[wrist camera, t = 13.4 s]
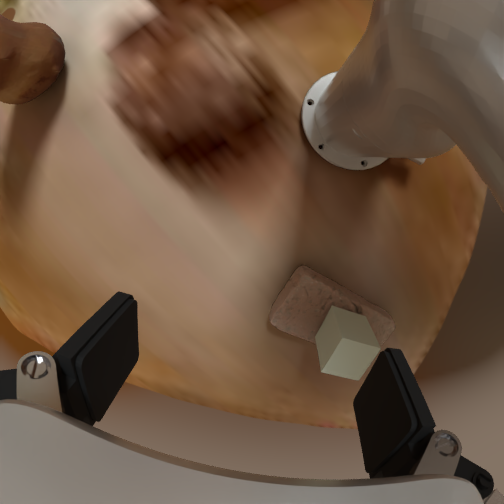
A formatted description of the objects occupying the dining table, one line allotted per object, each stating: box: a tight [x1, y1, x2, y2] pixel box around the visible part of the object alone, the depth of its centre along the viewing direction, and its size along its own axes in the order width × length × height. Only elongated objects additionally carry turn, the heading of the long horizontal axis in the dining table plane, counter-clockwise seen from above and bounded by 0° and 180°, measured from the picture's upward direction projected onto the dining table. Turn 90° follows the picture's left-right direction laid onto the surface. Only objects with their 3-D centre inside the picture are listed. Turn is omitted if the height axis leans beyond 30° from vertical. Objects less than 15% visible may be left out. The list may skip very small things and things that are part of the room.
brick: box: [269, 265, 396, 347], centre depth 37 cm, size 17×8×5 cm, turn 61°
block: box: [315, 305, 381, 381], centre depth 32 cm, size 5×5×7 cm
